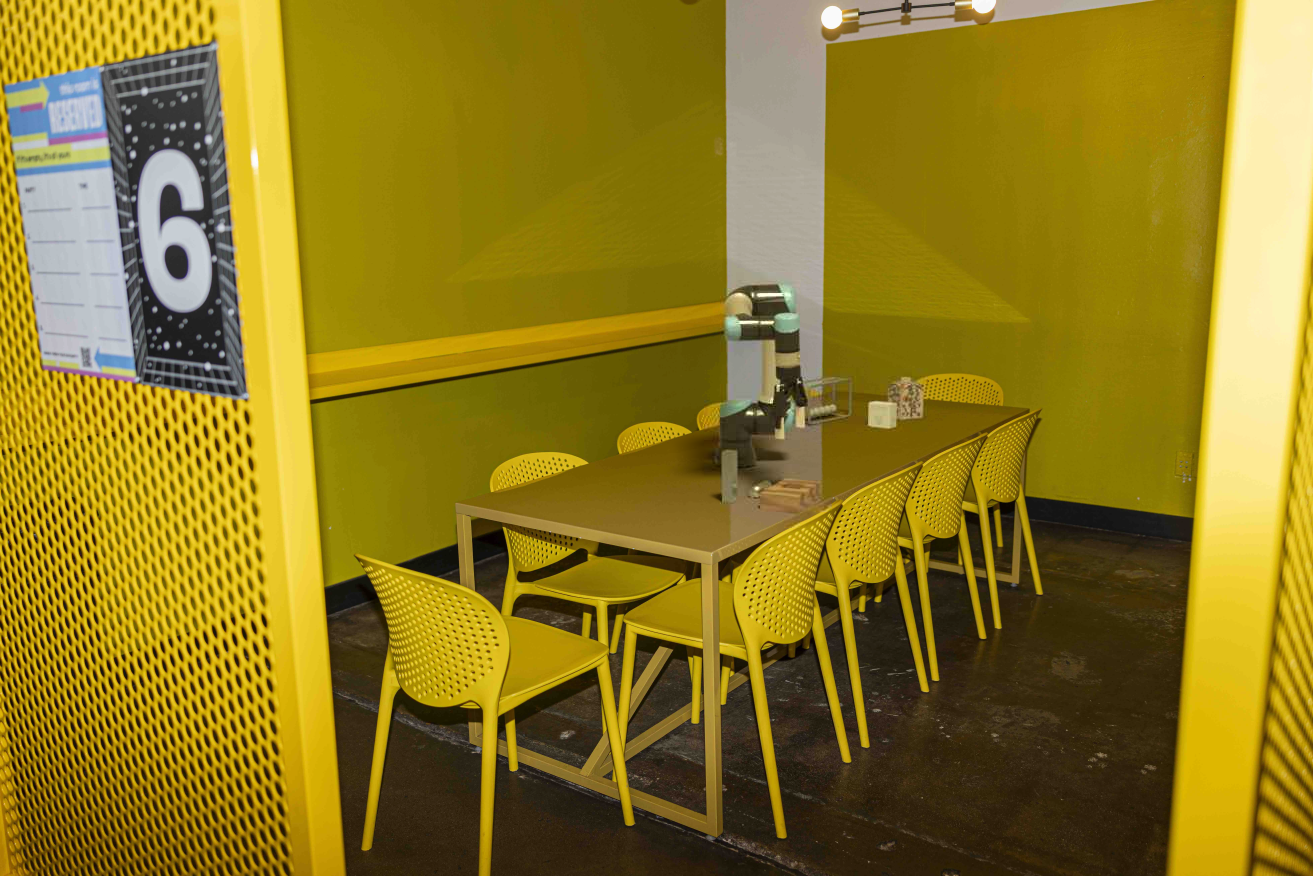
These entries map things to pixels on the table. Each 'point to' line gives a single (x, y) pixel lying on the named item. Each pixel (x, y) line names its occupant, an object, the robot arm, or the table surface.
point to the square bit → (729, 476)
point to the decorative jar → (907, 398)
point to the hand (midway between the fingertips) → (790, 432)
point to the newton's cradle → (826, 409)
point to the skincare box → (882, 414)
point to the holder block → (790, 495)
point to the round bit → (759, 488)
